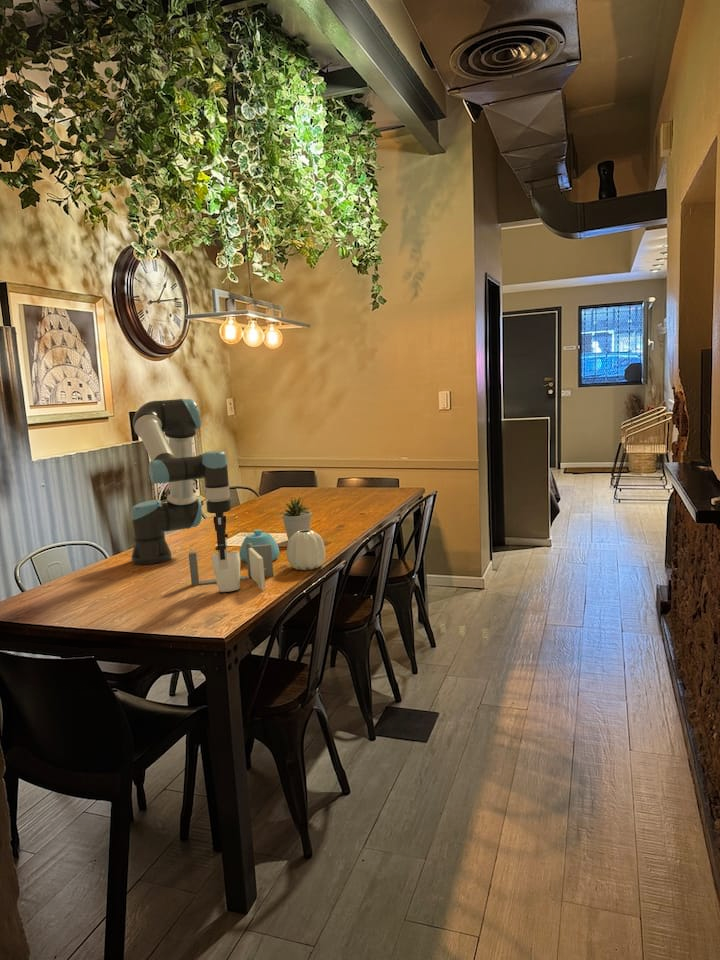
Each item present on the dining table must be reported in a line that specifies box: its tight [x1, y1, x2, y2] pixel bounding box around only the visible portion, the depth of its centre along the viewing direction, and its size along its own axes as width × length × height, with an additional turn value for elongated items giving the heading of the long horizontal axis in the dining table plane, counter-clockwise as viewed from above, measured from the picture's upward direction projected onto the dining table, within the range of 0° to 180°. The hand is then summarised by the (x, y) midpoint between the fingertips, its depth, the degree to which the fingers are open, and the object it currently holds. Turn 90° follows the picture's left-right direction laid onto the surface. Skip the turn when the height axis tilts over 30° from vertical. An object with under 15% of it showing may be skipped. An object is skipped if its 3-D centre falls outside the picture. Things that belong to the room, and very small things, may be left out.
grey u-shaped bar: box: [188, 543, 275, 586], centre depth 221 cm, size 3×28×12 cm, turn 101°
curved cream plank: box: [248, 548, 266, 590], centre depth 213 cm, size 16×2×10 cm, turn 22°
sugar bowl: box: [239, 529, 280, 564], centre depth 246 cm, size 15×15×12 cm
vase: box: [286, 529, 326, 571], centre depth 230 cm, size 14×14×13 cm
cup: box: [211, 550, 241, 593], centre depth 209 cm, size 9×9×12 cm
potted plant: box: [279, 495, 312, 541], centre depth 273 cm, size 13×14×20 cm
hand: (223, 563), depth 210 cm, fingers open, 13 cm apart
